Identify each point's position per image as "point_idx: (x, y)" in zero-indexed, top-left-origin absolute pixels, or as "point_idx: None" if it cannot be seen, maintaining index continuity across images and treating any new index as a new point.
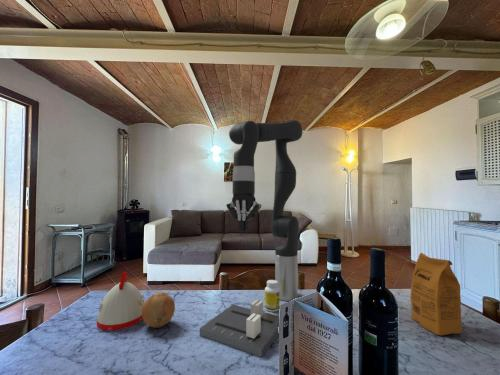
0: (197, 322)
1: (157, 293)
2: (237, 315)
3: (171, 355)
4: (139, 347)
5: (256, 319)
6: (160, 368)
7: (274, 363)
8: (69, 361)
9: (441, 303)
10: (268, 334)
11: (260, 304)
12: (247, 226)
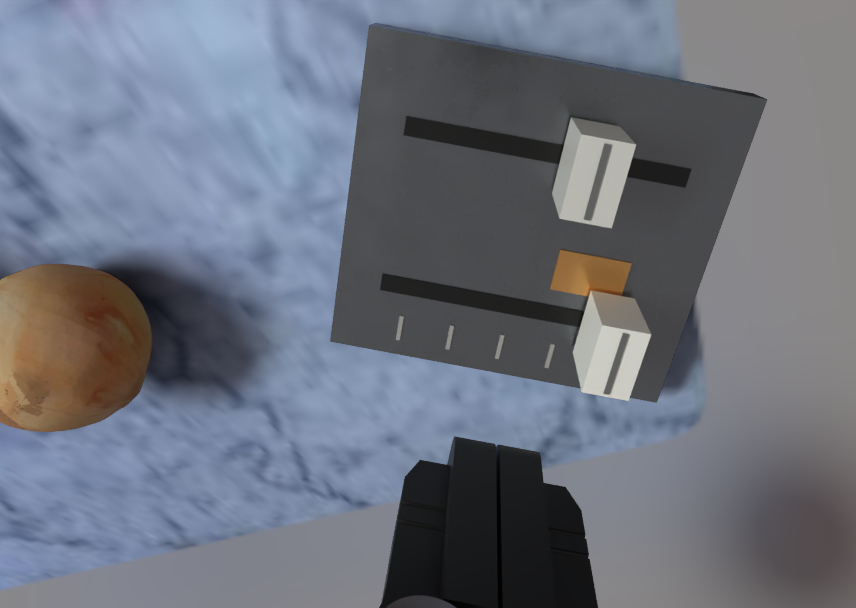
0: (257, 230)
1: (3, 400)
2: (459, 167)
3: (314, 455)
4: (172, 449)
5: (635, 378)
6: (326, 509)
7: (705, 400)
8: (43, 547)
9: None
10: (675, 298)
11: (622, 187)
12: (579, 565)
